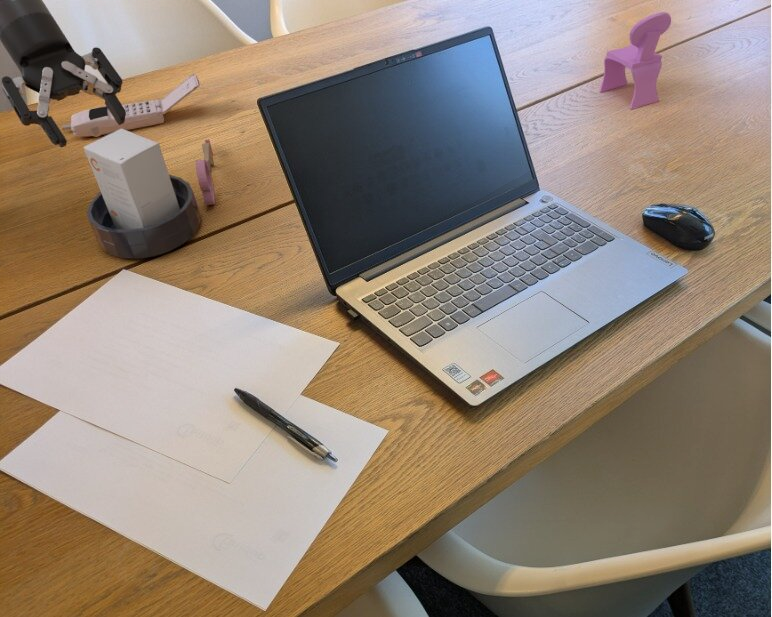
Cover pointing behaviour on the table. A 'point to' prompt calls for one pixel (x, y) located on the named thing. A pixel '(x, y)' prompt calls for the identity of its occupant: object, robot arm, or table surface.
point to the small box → (132, 179)
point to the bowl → (150, 237)
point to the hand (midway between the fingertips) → (94, 133)
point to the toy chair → (638, 60)
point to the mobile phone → (129, 113)
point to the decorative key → (206, 174)
